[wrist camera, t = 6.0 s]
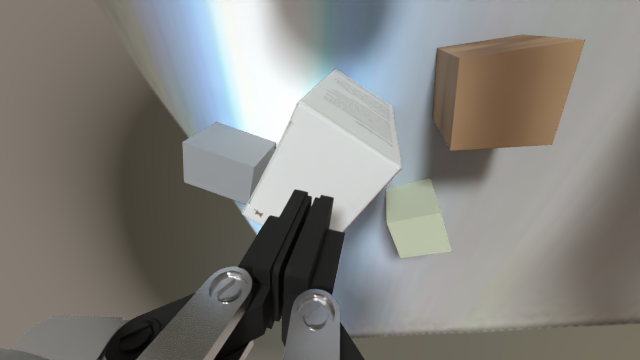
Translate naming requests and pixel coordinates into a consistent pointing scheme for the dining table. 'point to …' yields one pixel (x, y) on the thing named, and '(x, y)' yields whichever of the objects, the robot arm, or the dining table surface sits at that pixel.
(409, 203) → the sage block
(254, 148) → the slate block
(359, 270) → the dining table surface
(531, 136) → the walnut block
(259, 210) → the small box
